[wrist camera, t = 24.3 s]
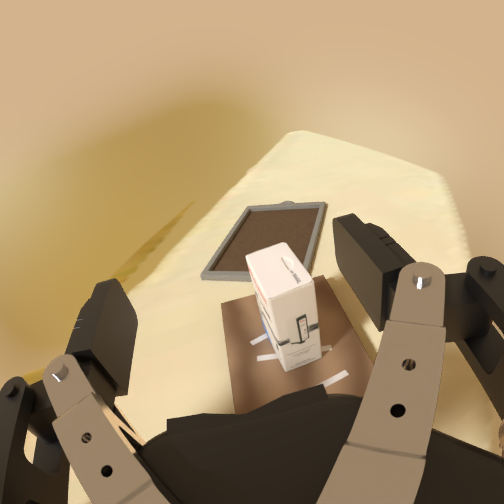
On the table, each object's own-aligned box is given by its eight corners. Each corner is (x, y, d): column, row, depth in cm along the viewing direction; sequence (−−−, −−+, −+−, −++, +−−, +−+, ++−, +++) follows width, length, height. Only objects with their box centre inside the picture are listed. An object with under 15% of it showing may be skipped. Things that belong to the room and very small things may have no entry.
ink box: (262, 326, 42) (241, 253, 35) (297, 313, 42) (283, 238, 36) (285, 374, 34) (265, 298, 28) (324, 358, 35) (316, 279, 29)
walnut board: (248, 473, 27) (243, 467, 25) (224, 312, 49) (220, 303, 48) (398, 427, 27) (401, 419, 26) (324, 284, 49) (323, 274, 48)
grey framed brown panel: (199, 275, 57) (250, 201, 80) (202, 282, 58) (252, 206, 81) (305, 277, 50) (326, 196, 73) (306, 285, 51) (327, 202, 74)
